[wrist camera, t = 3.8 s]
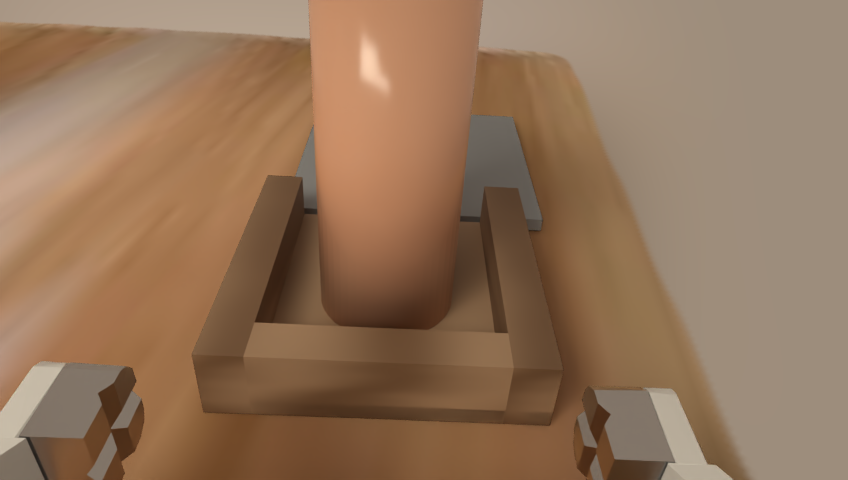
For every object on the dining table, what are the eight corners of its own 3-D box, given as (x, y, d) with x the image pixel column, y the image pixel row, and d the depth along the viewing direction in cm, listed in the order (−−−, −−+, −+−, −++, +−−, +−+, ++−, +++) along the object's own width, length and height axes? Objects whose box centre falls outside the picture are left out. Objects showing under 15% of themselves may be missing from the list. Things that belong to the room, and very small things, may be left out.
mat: (285, 218, 29) (284, 207, 29) (320, 115, 39) (319, 106, 39) (540, 230, 30) (542, 219, 29) (511, 125, 40) (512, 116, 39)
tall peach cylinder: (311, 335, 22) (291, -31, 15) (338, 215, 29) (331, -76, 22) (453, 341, 22) (494, -18, 16) (447, 221, 29) (474, -67, 22)
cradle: (203, 412, 20) (191, 354, 18) (272, 223, 29) (267, 175, 28) (549, 425, 20) (563, 369, 19) (510, 235, 29) (517, 188, 28)
